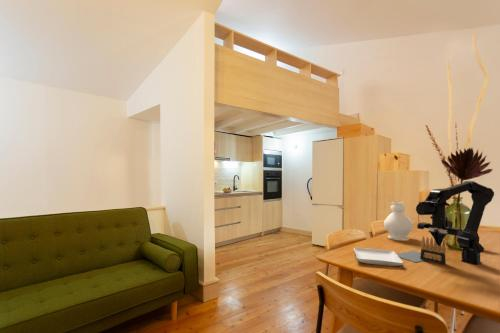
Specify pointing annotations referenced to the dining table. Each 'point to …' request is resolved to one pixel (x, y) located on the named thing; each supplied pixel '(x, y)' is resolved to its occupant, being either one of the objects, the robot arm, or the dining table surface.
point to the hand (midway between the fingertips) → (439, 245)
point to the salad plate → (378, 257)
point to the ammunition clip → (433, 251)
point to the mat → (411, 256)
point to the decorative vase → (398, 222)
